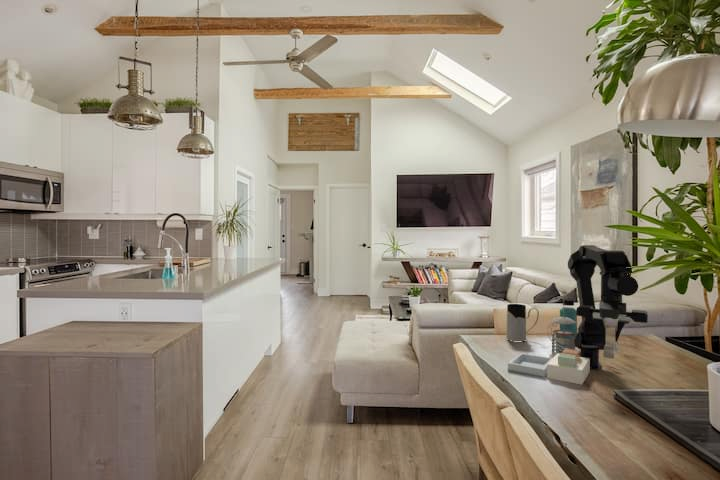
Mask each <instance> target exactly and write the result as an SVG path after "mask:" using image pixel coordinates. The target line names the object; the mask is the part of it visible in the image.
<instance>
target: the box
mask: <svg viewBox="0 0 720 480" xmlns="http://www.w3.org/2000/svg"><path fill="white" fill-rule="evenodd" d="M552 359H553V358H550V357H549V356H548V357H547V356H543V355H542V356H541V355H536V354H530V353H523V352H520V353H518V354H517V355H516V356H514V357H513V358H512V359H511V360H510V361H508V362H507V371H509V372H514V373H519V374H524V375H530V376H535V377H539V378H545V377H547V364H548V363H549V362H550V361H551V360H552Z"/></svg>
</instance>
